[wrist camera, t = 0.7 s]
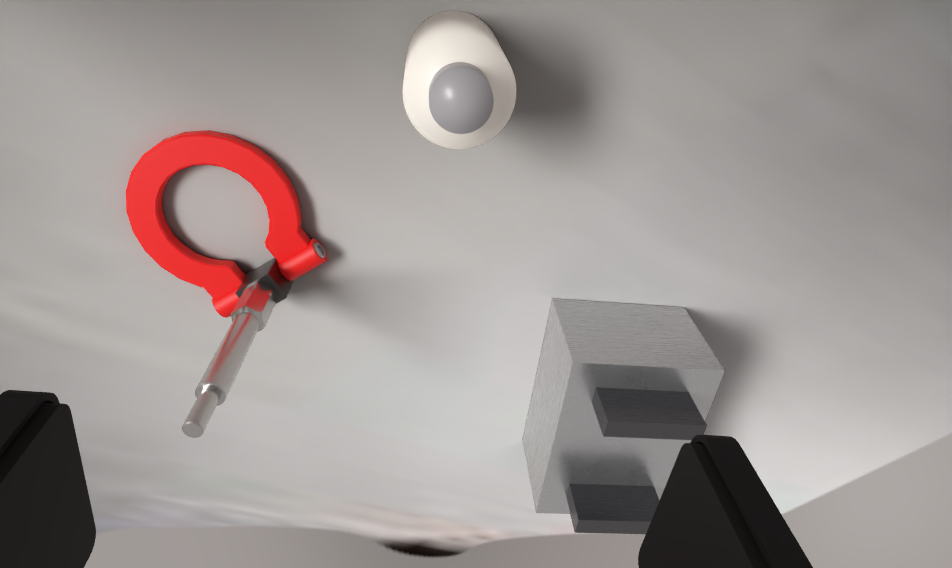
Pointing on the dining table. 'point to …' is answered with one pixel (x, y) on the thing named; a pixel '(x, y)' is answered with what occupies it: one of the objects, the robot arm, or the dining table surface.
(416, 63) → the bottle
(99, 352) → the dining table surface
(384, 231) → the dining table surface
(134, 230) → the tow hook
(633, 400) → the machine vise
